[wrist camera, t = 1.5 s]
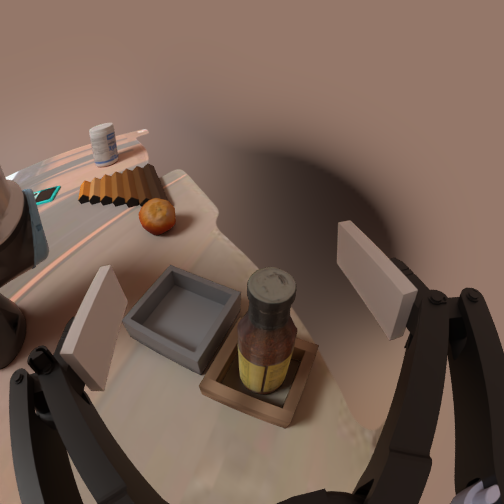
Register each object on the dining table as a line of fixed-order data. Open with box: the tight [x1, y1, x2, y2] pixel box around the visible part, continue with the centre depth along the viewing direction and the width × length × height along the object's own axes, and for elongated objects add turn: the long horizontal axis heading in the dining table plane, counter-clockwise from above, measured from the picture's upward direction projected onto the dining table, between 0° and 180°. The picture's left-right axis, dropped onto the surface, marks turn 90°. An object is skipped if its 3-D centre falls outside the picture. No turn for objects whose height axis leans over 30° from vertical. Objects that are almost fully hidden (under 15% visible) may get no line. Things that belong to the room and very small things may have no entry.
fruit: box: [139, 198, 176, 235], centre depth 57 cm, size 8×8×8 cm
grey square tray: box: [122, 265, 241, 375], centre depth 40 cm, size 13×13×4 cm
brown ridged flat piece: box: [78, 164, 168, 208], centre depth 69 cm, size 25×3×25 cm
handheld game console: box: [34, 186, 60, 205], centre depth 70 cm, size 10×16×1 cm, turn 106°
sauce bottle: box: [237, 267, 297, 395], centre depth 29 cm, size 7×6×20 cm
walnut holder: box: [199, 317, 319, 428], centre depth 34 cm, size 12×12×4 cm
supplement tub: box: [89, 123, 118, 167], centre depth 83 cm, size 10×10×15 cm
